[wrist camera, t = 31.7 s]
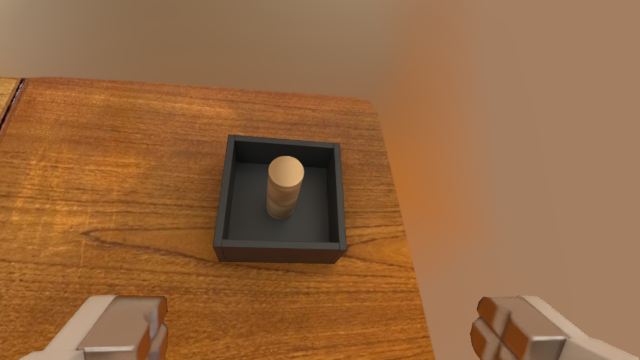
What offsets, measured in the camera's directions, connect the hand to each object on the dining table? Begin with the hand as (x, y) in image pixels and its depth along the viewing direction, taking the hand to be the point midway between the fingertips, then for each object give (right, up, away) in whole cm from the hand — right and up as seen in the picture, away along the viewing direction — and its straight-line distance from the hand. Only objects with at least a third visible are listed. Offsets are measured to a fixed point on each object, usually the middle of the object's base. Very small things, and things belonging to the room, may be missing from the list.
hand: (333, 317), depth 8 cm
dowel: (-5, 0, +32) cm, 32 cm away
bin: (-5, 0, +33) cm, 33 cm away
